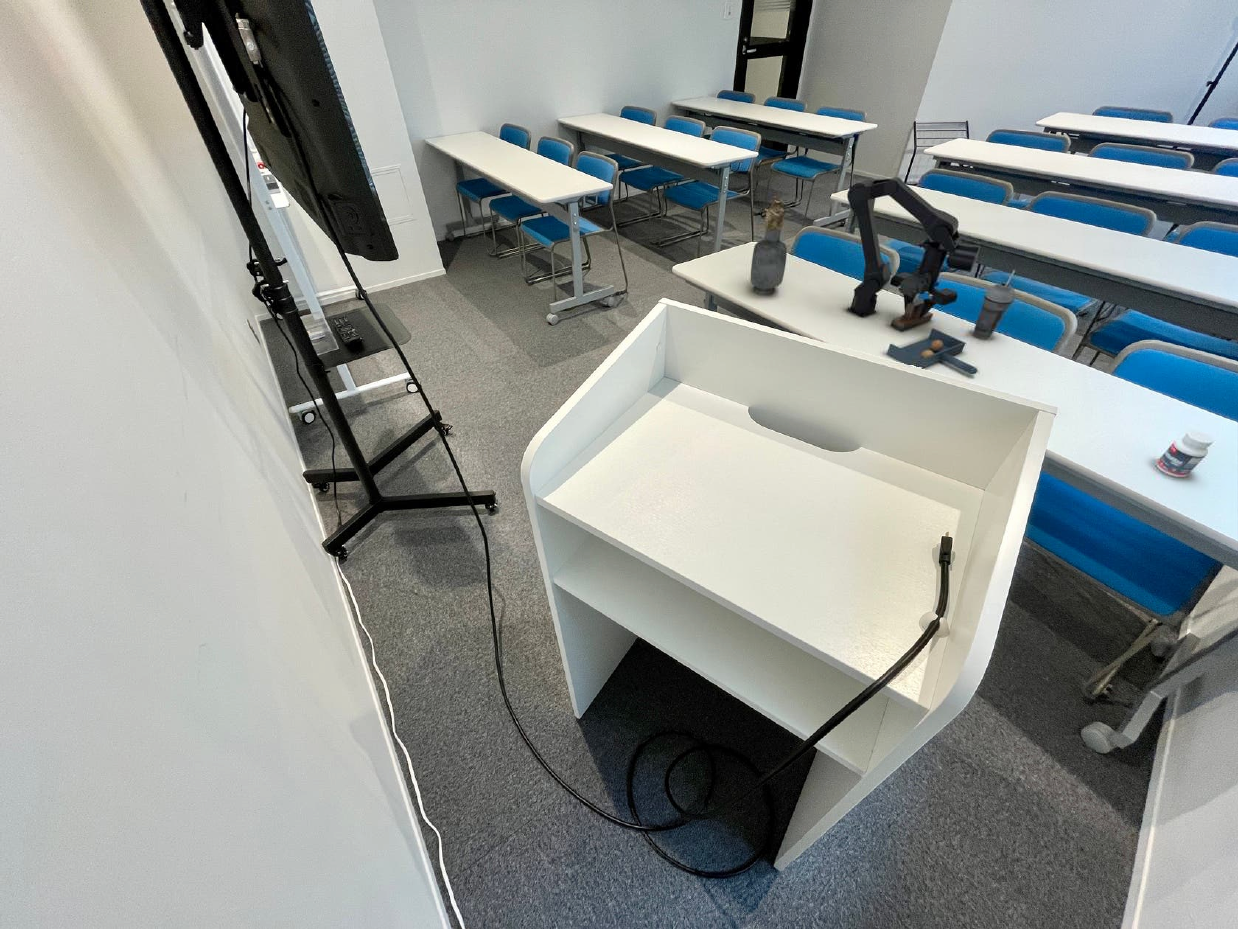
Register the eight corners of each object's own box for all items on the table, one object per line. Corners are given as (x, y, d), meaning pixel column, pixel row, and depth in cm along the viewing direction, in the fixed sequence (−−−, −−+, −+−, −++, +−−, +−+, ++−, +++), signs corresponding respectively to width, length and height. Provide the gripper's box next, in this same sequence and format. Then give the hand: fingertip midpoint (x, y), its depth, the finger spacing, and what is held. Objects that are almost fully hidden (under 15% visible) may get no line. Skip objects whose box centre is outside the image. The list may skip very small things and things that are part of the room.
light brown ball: (915, 355, 147) (924, 349, 144) (923, 352, 148) (932, 346, 145) (922, 365, 146) (931, 359, 143) (930, 362, 147) (939, 356, 144)
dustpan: (886, 354, 150) (890, 343, 148) (929, 337, 156) (933, 327, 154) (951, 387, 137) (956, 377, 134) (995, 368, 143) (1000, 358, 141)
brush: (889, 326, 163) (896, 304, 158) (918, 315, 167) (926, 294, 163) (901, 331, 160) (909, 309, 155) (930, 321, 164) (938, 299, 160)
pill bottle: (1148, 462, 113) (1176, 429, 107) (1172, 460, 113) (1200, 427, 107) (1170, 478, 109) (1200, 445, 103) (1194, 476, 109) (1225, 443, 103)
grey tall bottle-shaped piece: (748, 298, 181) (760, 204, 161) (748, 277, 195) (760, 188, 175) (780, 300, 179) (797, 205, 159) (778, 278, 193) (794, 188, 173)
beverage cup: (989, 329, 159) (1020, 263, 146) (999, 341, 153) (1033, 273, 140) (963, 329, 160) (992, 263, 146) (973, 341, 154) (1004, 273, 141)
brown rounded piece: (931, 354, 150) (925, 344, 151) (938, 351, 151) (933, 342, 152) (940, 349, 147) (934, 339, 148) (948, 346, 148) (942, 336, 149)
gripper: (885, 260, 155) (870, 310, 165) (941, 281, 142) (921, 334, 153) (911, 252, 159) (895, 301, 169) (968, 272, 146) (947, 324, 156)
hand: (913, 315), depth 162 cm, fingers open, 5 cm apart
